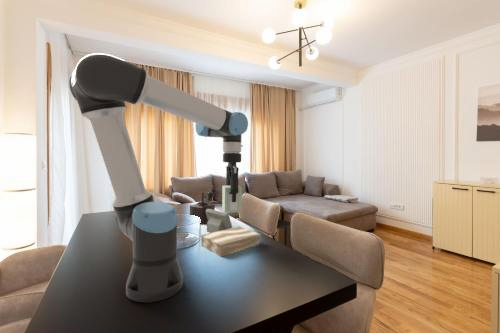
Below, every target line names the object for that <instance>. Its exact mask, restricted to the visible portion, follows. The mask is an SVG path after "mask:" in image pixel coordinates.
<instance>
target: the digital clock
mask: <svg viewBox="0 0 500 333" xmlns="http://www.w3.org/2000/svg"><path fill="white" fill-rule="evenodd" d="M206 215H207V218H208V222H207V224H206V232H208V233H212V232H217V231H221V230H226V229H230V228H233V224H232V222H231V221H232V220H231V217H230V214H229V212H226V213H225V212H224V211H220V210H216V209H215V210H212V209H206Z"/></svg>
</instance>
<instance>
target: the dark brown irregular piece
mask: <svg viewBox="0 0 500 333" xmlns="http://www.w3.org/2000/svg"><path fill="white" fill-rule="evenodd" d="M200 196H201V201H199V202H197V203H195V204H191V205H189V216H190V215H195V216H198V217H200V219H201V224H200V225H207V222H208V218H207V215H206V209H212V210H216V208H215V207H216V205H215V204H213V203H212V204H211V203H208V202H212V201H213V198H214V196H215V193H214V192H213V191H208V192H207V193H206V195H205V192H204V191H203V192H201V195H200ZM204 198H205V199H206V201H208V202H206V201H204Z"/></svg>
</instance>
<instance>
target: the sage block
mask: <svg viewBox="0 0 500 333" xmlns="http://www.w3.org/2000/svg"><path fill="white" fill-rule="evenodd" d="M221 187H222V188H221V189H222V190H221V192H222V193H221V195H222V196H221V197H222V199H221V202H222V204H221V205H222V207H221V209H222V212H225V213H241V212H243V186H241V185H239V184H238V191H239V192H238V193H237V210H230V194H229V192H231V186H230V185H227V186H226V185H222V186H221Z"/></svg>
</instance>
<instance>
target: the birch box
mask: <svg viewBox="0 0 500 333" xmlns="http://www.w3.org/2000/svg"><path fill="white" fill-rule="evenodd" d="M200 238H201V241H200V242H201V243H200V244H201V245H200V246H201V247H202V248H204V249H206V250H208V251H209V252H211V253H212V254H215V255H217V256H218V257H225V256H229V255H231V254H235V253H238V252H240V250H241V251H244V250H247V249H246V248H248V249H250V248H249V247H251V248H253V247H252V246H254V245H257V244H260V242H261V241H260V240H261V233H258V232H256V231H252V230H250V229H247V228H244V227H241V226H236V227H232V228H230V229H226V230H221V231H217V232H212V233H210V232H208V233H205V234H200ZM260 245H261V244H260ZM257 246H258V245H257ZM254 247H255V246H254ZM243 249H244V250H243ZM237 251H238V252H237ZM234 252H235V253H234Z"/></svg>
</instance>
